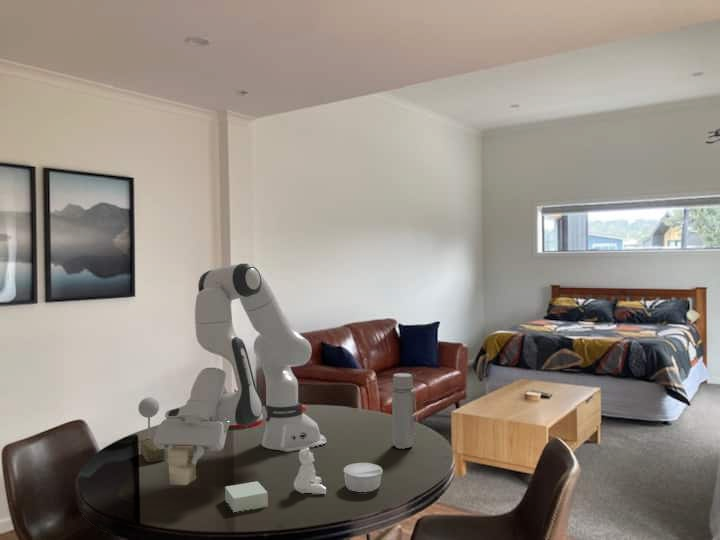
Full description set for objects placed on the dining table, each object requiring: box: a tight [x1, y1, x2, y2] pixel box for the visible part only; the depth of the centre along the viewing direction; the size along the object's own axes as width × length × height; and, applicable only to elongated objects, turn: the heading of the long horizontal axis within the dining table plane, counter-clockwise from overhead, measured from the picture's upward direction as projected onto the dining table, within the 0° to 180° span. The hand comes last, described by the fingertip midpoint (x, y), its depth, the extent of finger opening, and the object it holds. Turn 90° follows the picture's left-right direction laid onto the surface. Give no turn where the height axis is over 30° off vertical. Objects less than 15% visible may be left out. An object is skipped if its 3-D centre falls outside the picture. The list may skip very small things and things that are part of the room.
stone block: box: [140, 439, 166, 463], centre depth 196 cm, size 6×12×5 cm, turn 31°
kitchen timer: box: [229, 388, 264, 428], centre depth 237 cm, size 14×14×15 cm
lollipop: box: [138, 397, 160, 440], centre depth 215 cm, size 7×7×15 cm
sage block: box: [224, 480, 269, 513], centre depth 159 cm, size 9×9×4 cm
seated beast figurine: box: [293, 448, 327, 495], centre depth 168 cm, size 10×9×12 cm
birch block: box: [167, 445, 197, 486], centre depth 161 cm, size 5×5×9 cm
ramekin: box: [343, 462, 383, 492], centre depth 170 cm, size 11×11×5 cm
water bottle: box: [391, 372, 419, 446], centre depth 206 cm, size 9×8×25 cm
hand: (180, 463), depth 160 cm, fingers closed on birch block, 5 cm apart
